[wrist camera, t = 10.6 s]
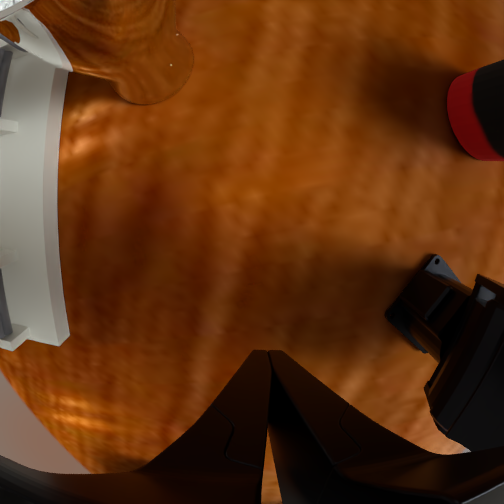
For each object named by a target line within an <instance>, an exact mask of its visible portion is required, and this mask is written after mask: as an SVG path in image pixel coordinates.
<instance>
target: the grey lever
mask: <svg viewBox="0 0 504 504" xmlns="http://www.w3.org/2000/svg"><path fill="white" fill-rule="evenodd" d="M12 56H13V52H12V51H8V50H6V51H5V49H1V48H0V117H1V113H2V106H3V99H4V93H5V88H6V83H7V78H8V73H9V68H10V64H11V60H12Z"/></svg>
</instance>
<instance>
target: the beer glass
mask: <svg viewBox="0 0 504 504" xmlns="http://www.w3.org/2000/svg"><path fill="white" fill-rule="evenodd" d="M0 39H2V40H4V41H5V42H7V43H8V44H10V45H11V46H13V47H15V48H16V49H18V50H20V51H22V52H23V53H25V54H27V55H29V56H31V57H32V58H34V59H37V60H39V61H41V62H44V63H46V64H48V65H50V66H53V67H55V68H59V69H62V70H66V71H69V72H72V73H76V74H81V75H85V76H90V77H95V78H99V79H103V80H107V81H108V82H109V83H110V84H111V86H112V87H113V89H114V90H115V92H116V93H117V94H118V95H119V96H120V97H122V98H123V99H124V100H126V101H128V102H131V103H134V104H153V103H157V102H160V101H163V100H165V99H167V98H169V97H170V96H172V95H173V94H175V93H176V92H177V91H178V90H179V89H180V88H181V87H182V86H183V85H184V84H185V83H186V81H187V80H188V78H189V76H190V74H191V71H192V68H193V63H194V54H193V50H192V47H191V45H190V43H189V42H188V40H187V39H186V38H185V37H184V36H183V35H182V34H181V33H180V32H179V31H178V30H177V28H176V7H175V0H0Z"/></svg>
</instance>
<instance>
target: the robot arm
mask: <svg viewBox="0 0 504 504" xmlns="http://www.w3.org/2000/svg"><path fill="white" fill-rule="evenodd" d="M436 259H437V262H436V263H435V260H436ZM475 282H476V283H475V286H474V288H473V290H472V289H471V288H469V287H467V286H465V285H464V284H462V283H461V282H460V281H459V279H458V278H457V277H456V275H455V274H454V273H453V272H452V270H451V269H450V268H449V266H448V265H447V264H446V263H445V261H444V260H443V259H442V258H441V256H439V255H437V254H434V255H432V256H431V257H430V259H429V260H428V261H427V263H426V264H425V265H424V266H423V268H422V269H421V270H420V271H419V272H418V273H417V274H416V276H415V277H414V278H413V279H412V281H411V282H410V283H409V284H408V286H407V287H406V288H405V289H404V290H403V292H402V293H401V294H400V296H399V297H398V298H397V299H396V301H395V302H394V303H393V304H392V305H391V306H390V308H389V309H388V310H387V311H386V313H385V317H386V319H387V320H388V321H389V322H390V323H391V324H392V325H394V326H395V327H396V328H397V329H398V330H399V331H400V332H401V333H402V334H403V335H404V336H406V337H407V338H408V339H409V340H410V341H411V342H412V343H413V344H414V345H415V346H416V347H417V348H418V349H420V350H421V351H422V352H423V353H429V354H430V355H431V356H432V357H433V358H434V359H435V360H436V361H437V362H438V363H439V364H438V366H437V368H436V370H435V371H434V373H433V375H432V377H431V379H430V380H429V381H427V383H426V385H425V386H424V391H425V394H426V397H427V400H428V403H429V407H430V413H431V416H432V417H433V420H434V422H435V425H436V426H437V428H438V430H439V431H441V432H442V433H443V434H444V435H445V436H446V437H447V438H449V439H451V440H454V441H456V442H458V443H460V444H461V445H463V446H464V447H466V448H467V449H469V450H470V451H471V452H467V453H460V454H452V455H442V454H436V453H432V452H429V451H427V450H424V449H422V448H420V447H419V446H417V445H415V444H413V443H411V442H409V441H407V440H406V439H404V438H402V437H400V436H398V435H397V434H395V433H393V432H391V431H389V430H388V429H386V428H384V427H383V426H381V425H379V424H378V423H376V422H374V421H373V420H371V419H370V418H368V417H367V416H366V415H364V414H363V413H361V412H360V411H359V410H357V409H356V408H355V407H353V406H352V405H349V403H348V402H346V401H345V400H344V399H343V398H341V397H340V396H339V395H337V394H336V393H335V392H333V391H332V390H331V389H330V388H328V387H327V386H326V385H324V384H323V383H322V382H321V381H319V380H318V379H317V378H316V377H314V376H313V375H312V374H310V373H309V372H308V371H307V370H305V369H304V368H303V367H302V366H300V365H299V364H298V363H297V362H295V361H294V360H293V359H292V358H291V357H289V356H288V355H287V354H286V353H284V352H283V351H281V350H269V351H268V352H267V351H266V350H253V351H252V352H251V353H250V355H249V356H248V357H247V359H246V360H245V361H244V363H243V364H242V365H241V367H240V368H239V369H238V370H237V372H236V373H235V374H234V376H233V377H232V378H231V380H230V381H229V382H228V383H227V385H226V386H225V387H224V389H223V390H222V391H221V392H220V394H219V395H218V396H217V397H216V399H215V400H214V401H213V402H212V404H211V405H210V406H209V407H208V408H207V410H206V411H205V412H204V413H203V415H202V416H201V417H200V418H199V419H198V420H197V421H196V422H195V424H194V425H193V426H191V427H190V428H189V429H188V430H187V431H186V432H185V433H184V434H183V435H182V436H181V437H179V438H178V439H177V440H176V441H175V442H173V443H172V444H171V445H170V446H169V447H167V448H166V449H165V450H164V451H163V452H161V453H160V454H159V455H158V456H156V457H155V458H154V459H153V460H151V461H150V462H149V463H147V464H146V465H144V466H142V467H141V468H139V469H136V470H134V471H130V472H122V473H105V474H56V473H48V472H42V471H38V470H35V469H31V468H28V467H26V466H23V465H21V464H18V463H16V462H14V461H12V460H10V459H8V458H5V457H3V456H0V504H261V489H262V478H263V469H264V459H265V449H266V439H267V429H268V432H269V438H270V443H271V448H272V453H273V458H274V463H275V468H276V473H277V478H278V483H279V488H280V493H281V498H282V503H283V504H504V284H502V283H499V282H497V281H494V280H492V279H490V278H487V277H485V276H482V275H480V274H477V276H476V279H475ZM392 313H393V315H392V316H391V317H390V315H391V314H392Z"/></svg>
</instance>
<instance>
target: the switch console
mask: <svg viewBox="0 0 504 504" xmlns="http://www.w3.org/2000/svg"><path fill="white" fill-rule="evenodd" d="M0 48H1V49H5V51H6V50H8V51H12V52H13V56H12V60H11V64H10V68H9V73H8V78H7V83H6V88H5V93H4V99H3V106H2V113H1V117H0V268H1V270H2V277H3V284H4V290H5V296H6V301H7V306H8V311H9V316H10V320H11V325H12V329H13V332H12V333H11V334H9V335H5V337H4V338H2V339H0V348H3V349H7V350H10V351H14V350H15V349H16V348H17V347H18V346H20V345H21V344H22V343H23V342H24V341H25V340H26V339H29V340H34V341H38V342H42V343H46V344H51V345H55V346H60V345H61V344H62V343H63V342H64V341H65V340H66V339H67V338H68V337H69V336H70V332H69V327H68V321H67V315H66V308H65V301H64V294H63V286H62V277H61V267H60V255H59V240H58V215H57V182H58V157H59V142H60V130H61V121H62V112H63V104H64V97H65V90H66V84H67V78H68V73H69V71H66V70H62V69H59V68H55V67H53V66H50V65H48V64H46V63H44V62H41V61H39V60H37V59H34V58H32V57H31V56H29V55H27V54H25V53H23V52H22V51H20V50H18V49H16V48H15V47H13V46H11V45H10V44H8V43H7V42H5V41H4V40H2V39H0Z"/></svg>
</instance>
